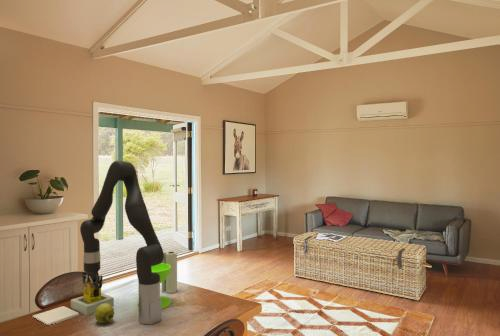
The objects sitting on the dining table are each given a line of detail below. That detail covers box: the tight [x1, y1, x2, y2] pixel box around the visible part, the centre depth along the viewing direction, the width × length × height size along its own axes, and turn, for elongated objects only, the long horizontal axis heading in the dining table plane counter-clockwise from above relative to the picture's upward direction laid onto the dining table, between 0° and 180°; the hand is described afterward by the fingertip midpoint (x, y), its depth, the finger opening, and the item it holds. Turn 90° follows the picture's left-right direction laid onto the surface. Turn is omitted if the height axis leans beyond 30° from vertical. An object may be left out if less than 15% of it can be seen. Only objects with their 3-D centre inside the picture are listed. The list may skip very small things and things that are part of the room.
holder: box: [70, 292, 115, 316], centre depth 182 cm, size 14×14×4 cm
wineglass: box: [137, 263, 172, 310], centre depth 186 cm, size 16×16×18 cm
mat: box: [32, 305, 80, 326], centre depth 171 cm, size 14×14×1 cm
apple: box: [94, 303, 115, 324], centre depth 165 cm, size 8×9×8 cm
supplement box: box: [83, 282, 102, 304], centre depth 182 cm, size 6×6×11 cm
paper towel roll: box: [161, 250, 178, 294], centre depth 203 cm, size 7×6×21 cm
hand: (92, 295), depth 182 cm, fingers closed on supplement box, 6 cm apart
